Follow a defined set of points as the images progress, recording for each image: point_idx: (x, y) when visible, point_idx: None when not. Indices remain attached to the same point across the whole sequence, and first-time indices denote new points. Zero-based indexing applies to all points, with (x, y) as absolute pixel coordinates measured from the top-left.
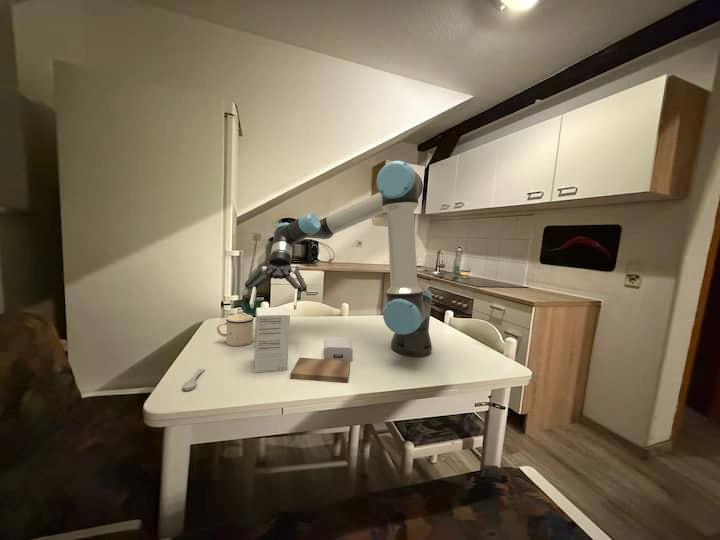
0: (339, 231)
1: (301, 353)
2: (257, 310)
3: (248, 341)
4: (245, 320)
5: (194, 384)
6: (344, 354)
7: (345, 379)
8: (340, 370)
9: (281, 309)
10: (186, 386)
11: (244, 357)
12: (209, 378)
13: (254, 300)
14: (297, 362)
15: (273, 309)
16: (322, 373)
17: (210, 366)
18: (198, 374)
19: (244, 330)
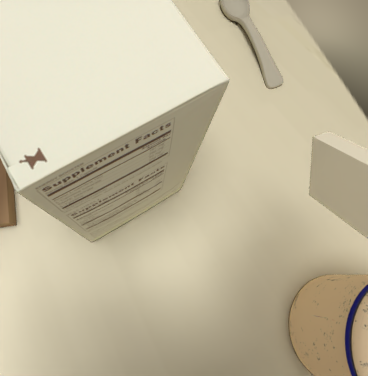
0: None
1: (34, 312)
2: (179, 16)
3: (293, 317)
4: (362, 310)
5: (230, 13)
6: None
7: None
8: None
9: (23, 96)
10: (239, 4)
11: (224, 197)
12: (224, 53)
13: (360, 224)
14: (2, 175)
15: (84, 70)
16: None
17: (272, 111)
18: (252, 41)
19: (330, 301)
